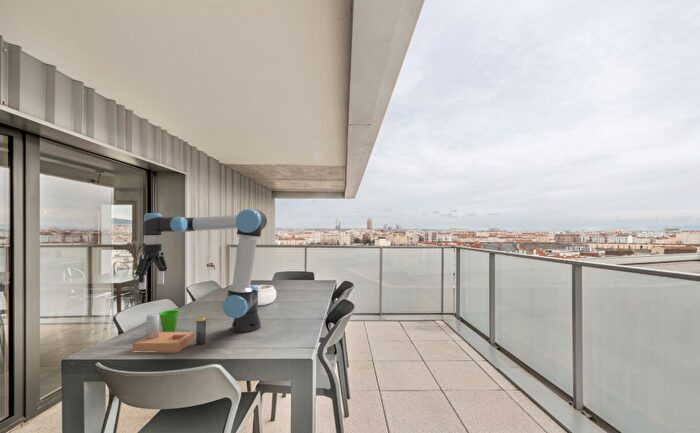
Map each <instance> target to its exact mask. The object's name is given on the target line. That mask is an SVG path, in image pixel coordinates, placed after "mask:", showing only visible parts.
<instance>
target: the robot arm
mask: <svg viewBox="0 0 700 433" xmlns="http://www.w3.org/2000/svg"><path fill="white" fill-rule="evenodd" d="M143 217H144V218H143V246H142V247H143V250H142V251H143V252H144V253H145V254H140V257H139V262H138V265H137V268H136V270H135V272H134V274H135V275H136V277H137V276H138V287H139V288H138V289H139V290H146V289H147V275H146V273H147V271H148V269H149V268H150V265H151V264H153V263H154V264H155V266H156V267H157V269H158V271H157V284H158V285H164V284H165V271H168V270H167V269H168V266H167V263H166V260H165V256H164V255H165V254H164V252H161V251H162V244H161V243H162V242H163V241H162V233H175V232H176V233H181V232H187V233H188V232H201V231H220V230H221V231H223V230H236V236H237V237H238V245H237V251H236V258H235V262H234V263H235V264H234V270H233V271H234V272H233V278H232V284H231V286H229V287H228V290H227V295H226V298H225V299H224V300H223V303H222V310H223V312H224V314H225V315H226V316H227V317H228V318H232V319H233V321H232V323H231V330H232V332H235V333H250V332H254V331H257V330H259V329H261V327H262V323H261V322H262V321H261V319H260V318H261V317H260V315H259V312H258V310H259V286H258V285H256V284H255V285H253V284H251V283H252V276H253V269H254V263H255V262H254V261H255V256H256V255H255V254H256V249H257V242H258V240H259V239H260V238H261V236H262V230H264V228H266V226H267V224H268V223H267V222H268V221H267V219H268V218H267V216H266V214H265V213H264V212H263V211H260V210H258V209H253V208H246V209H243V210H241V211H240V212H239V213H238V214H236V215H218V216H217V215H216V216H215V215H213V216H198V217H197V216H196V217H193V216H192V217H184V216H164V217H163V215H162V213H157V212H152V213H151V212H149V213H144V216H143Z"/></svg>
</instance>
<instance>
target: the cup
mask: <svg viewBox="0 0 700 433" xmlns="http://www.w3.org/2000/svg"><path fill="white" fill-rule="evenodd" d="M179 314H180V310H179V309H170V310H169V309H168V310H163V311H160V312H159V319H160V322H161V329H162V332H176V328H177V324H178V317H179Z"/></svg>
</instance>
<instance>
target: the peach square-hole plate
mask: <svg viewBox="0 0 700 433" xmlns="http://www.w3.org/2000/svg"><path fill="white" fill-rule="evenodd" d="M145 329H146V331H145V336H144V337H142V338H139V340H137V341H133V343H132V352H133V351H155V352H154V353H179V352H181V351H182V350H184V349H185V348H186V347H187V345H188V346H189V345H190V344H192V343H193V342H194V341H196V332H195V331H175V332H163V331H160V315H159V314H158V313H154V314H153V313H151V314H148V315H146V328H145ZM191 342H192V343H191ZM156 351H157V352H156Z"/></svg>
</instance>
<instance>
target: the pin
mask: <svg viewBox="0 0 700 433" xmlns="http://www.w3.org/2000/svg"><path fill="white" fill-rule="evenodd" d="M207 319H208V317H207V316H199V317H196V318H195V322H196V324H195V325H196V332H195V345H196V346H203V345H206V341H207V340H206V337H207V336H206V335H207V334H206V333H207ZM202 344H203V345H202Z"/></svg>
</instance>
